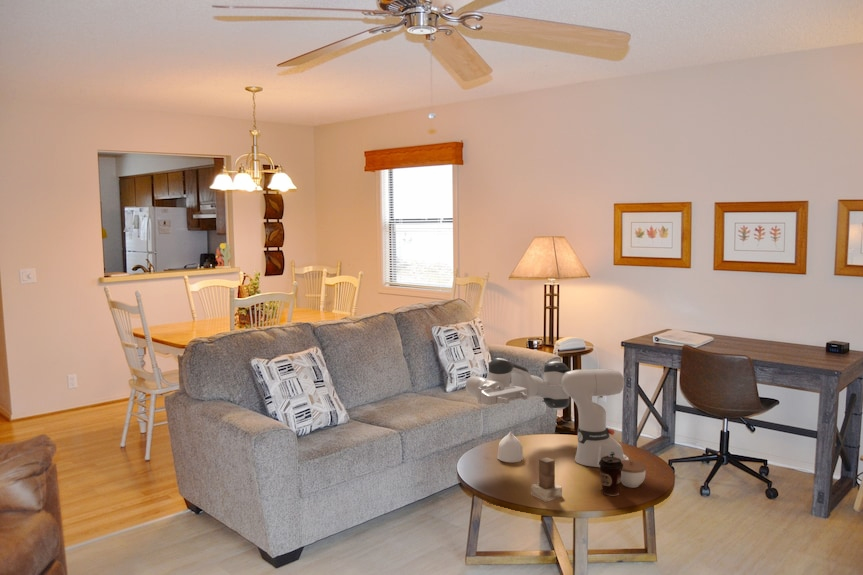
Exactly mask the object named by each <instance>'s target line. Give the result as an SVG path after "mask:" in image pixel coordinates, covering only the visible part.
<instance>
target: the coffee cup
mask: <svg viewBox="0 0 863 575" xmlns="http://www.w3.org/2000/svg"><path fill="white" fill-rule="evenodd" d="M599 465H600V468H599V473H600V474H599V475H600V484H601V493H602V494H603V495H606V496H612V497H615V496H619V495H620V490H619V489H620V487H621V486H620V485H621V481H620V479H621V471H622V468H623V464H622V462H621V460H620V459H619V458H616V457H609V456H605V457H602V458H601V460H600V462H599Z"/></svg>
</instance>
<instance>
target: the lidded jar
mask: <svg viewBox="0 0 863 575" xmlns="http://www.w3.org/2000/svg"><path fill="white" fill-rule="evenodd" d="M621 462H622V464H623V468H622V471H621V479H620V483H621V484H622V485H623V486H624V487H627V488H632V489H633V488H635V489H636V488H639V487H640V486H641V485H642V483H643V482H644V481H645V478H646V474H647V473H646V472H647V471H646V470H647V466H646V464H645V463H643V462H641V461H638V460H631V459H629V460H623V461H621Z"/></svg>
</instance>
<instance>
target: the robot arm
mask: <svg viewBox="0 0 863 575" xmlns="http://www.w3.org/2000/svg"><path fill="white" fill-rule="evenodd" d="M487 371H488V373H487V378H486V377H483V376H478V375H477V376H475V375H472V376H469V377H468V378H467V380H466V382H465V391H466V392H467V393H468V395H470V396H472V397H474V398H477V403H478V404H480V405H482V404H483V405H486V406H487V405H488V406H493V405H496V404H510V402H511V401H515V400H524V401H525V400H533V399H537V398H542V399H543V400H541V402H543V403H544V404H545V405H546V406H547V407H548V408H550V409H553V410H557V411H559V410H560V411H561V410H564V409H566V408H568V407H569V406H570V400H571V399H572V400H573V401H574V404H575V405H576V408H577V412H578V427H577V447H576V448H577V449H576V451H575V456H574V461H575V462H576V463H577V464H580V465H582V466H587V467H593V468H594V467H595V468H599V469H600V465H599V462H600V460H601V458H602V457H605V456H609V457H616V458H619V459H620V460H621V461H623V460H630V459H629V457H628V456H627V455H626V454H624V450H623V449H624V448H623V446H622V445H621V444H620V443H619V442H618V441H617V440H615V439H614V438H613V437H611V435H612V436H613V435H615V430H613V429H611V428H608V427H607V411H606V409H605V408H604V407H603V406H602V405H601V404H598V403H596V402H595V401H593V397H608V396H614V395H618V394H620V393H622V391H623V390H624V388H625V378H624V376H623V374H622V373H621V372H620V371H619V370H615V369H608V368H597V369H596V368H594V369H593V368H592V369H591V368H590V369H589V368H588V369H584V368H583V369H574V370H572V369H571V368H569V367H568V366H567V364H565V363H564V362H562V361H557V360H553V361H550V362H548V363H546V364H544V367H543V373H544V374H543V376H544V377H543V378H542V377H539V376H537V375H533V374H530V372H529V371H528V369H527V368H526V367H524V366H522V365H519V364H516V363H514V362H511V361H510V360H507V359H506V358H504V357H503V358H501V357H497V358H496V357H495V358H493V359H492V360H491V361H489V362H488V370H487ZM570 398H571V399H570Z"/></svg>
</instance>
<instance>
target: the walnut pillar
mask: <svg viewBox="0 0 863 575" xmlns="http://www.w3.org/2000/svg"><path fill="white" fill-rule="evenodd" d="M555 464H556V463H555V460H554V459H552V458H550V457H542V458H540V459H538V478H539V479H538V483H539V486H540V487H543V488H545V489H549V488H553V487H555V484H556V480H555V479H556V474H555V473H556V472H555V471H556V470H555V469H556V466H555Z"/></svg>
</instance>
